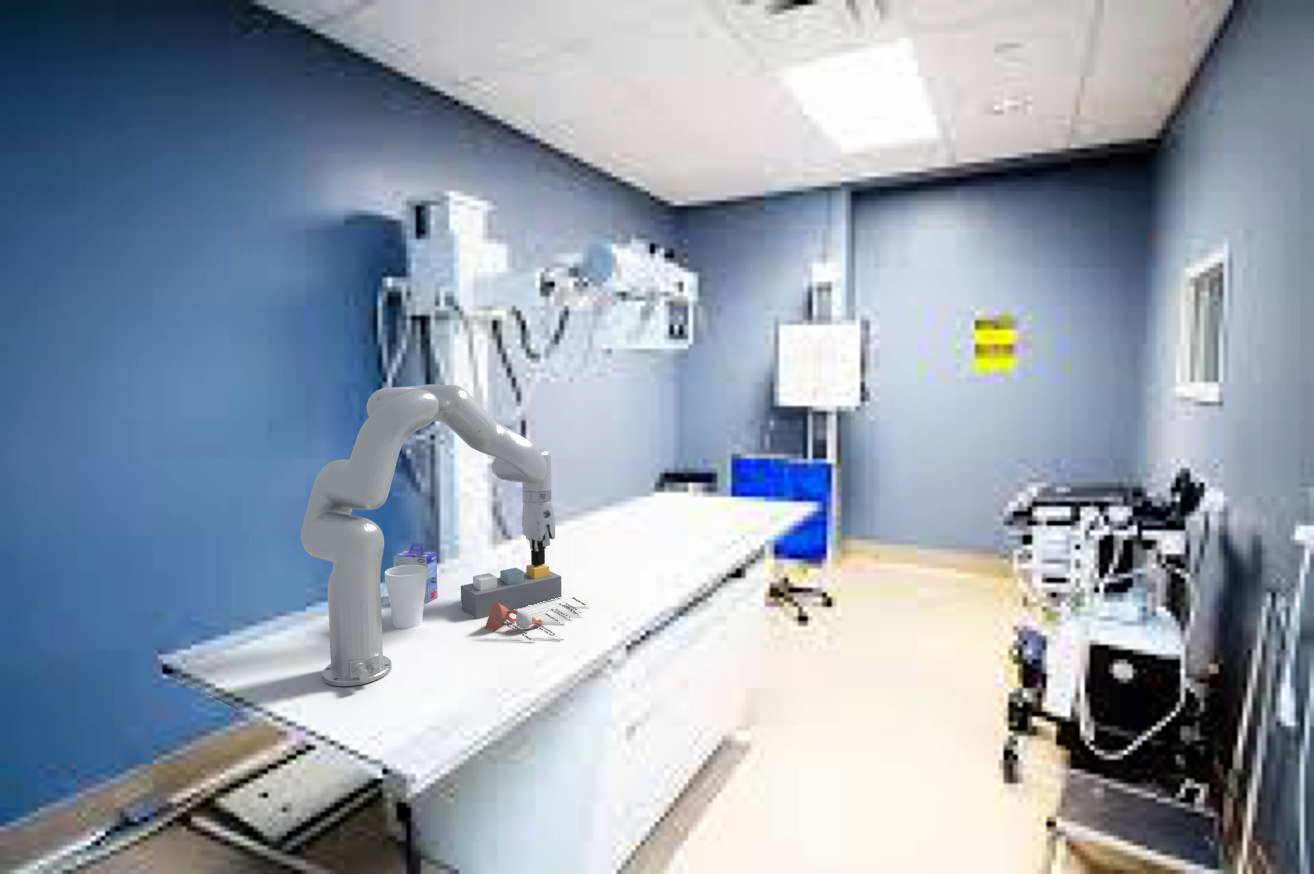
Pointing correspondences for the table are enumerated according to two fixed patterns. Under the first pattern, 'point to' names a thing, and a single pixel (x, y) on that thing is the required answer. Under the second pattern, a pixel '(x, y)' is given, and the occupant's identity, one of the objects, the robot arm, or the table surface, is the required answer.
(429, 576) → the ink cartridge box
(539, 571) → the amber button
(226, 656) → the table surface
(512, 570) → the light blue cube
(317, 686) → the table surface
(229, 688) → the table surface
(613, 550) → the table surface
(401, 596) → the foam cup
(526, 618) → the anatomical diagram
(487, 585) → the white cube
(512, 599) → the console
